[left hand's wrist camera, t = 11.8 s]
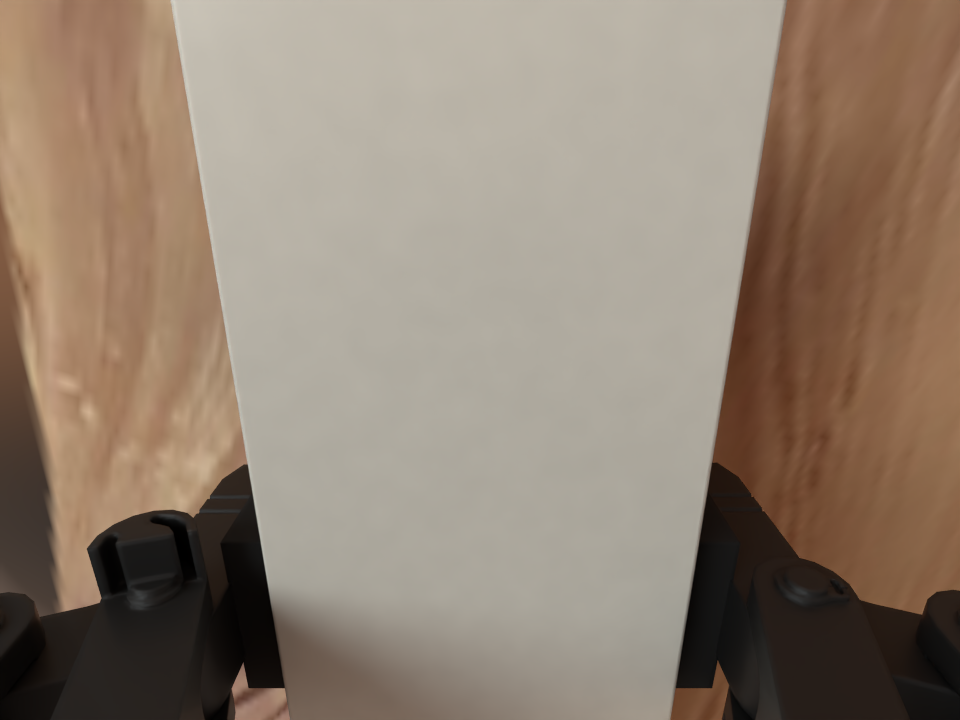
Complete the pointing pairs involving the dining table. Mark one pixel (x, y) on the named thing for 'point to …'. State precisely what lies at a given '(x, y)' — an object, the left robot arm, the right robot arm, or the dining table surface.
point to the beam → (479, 331)
